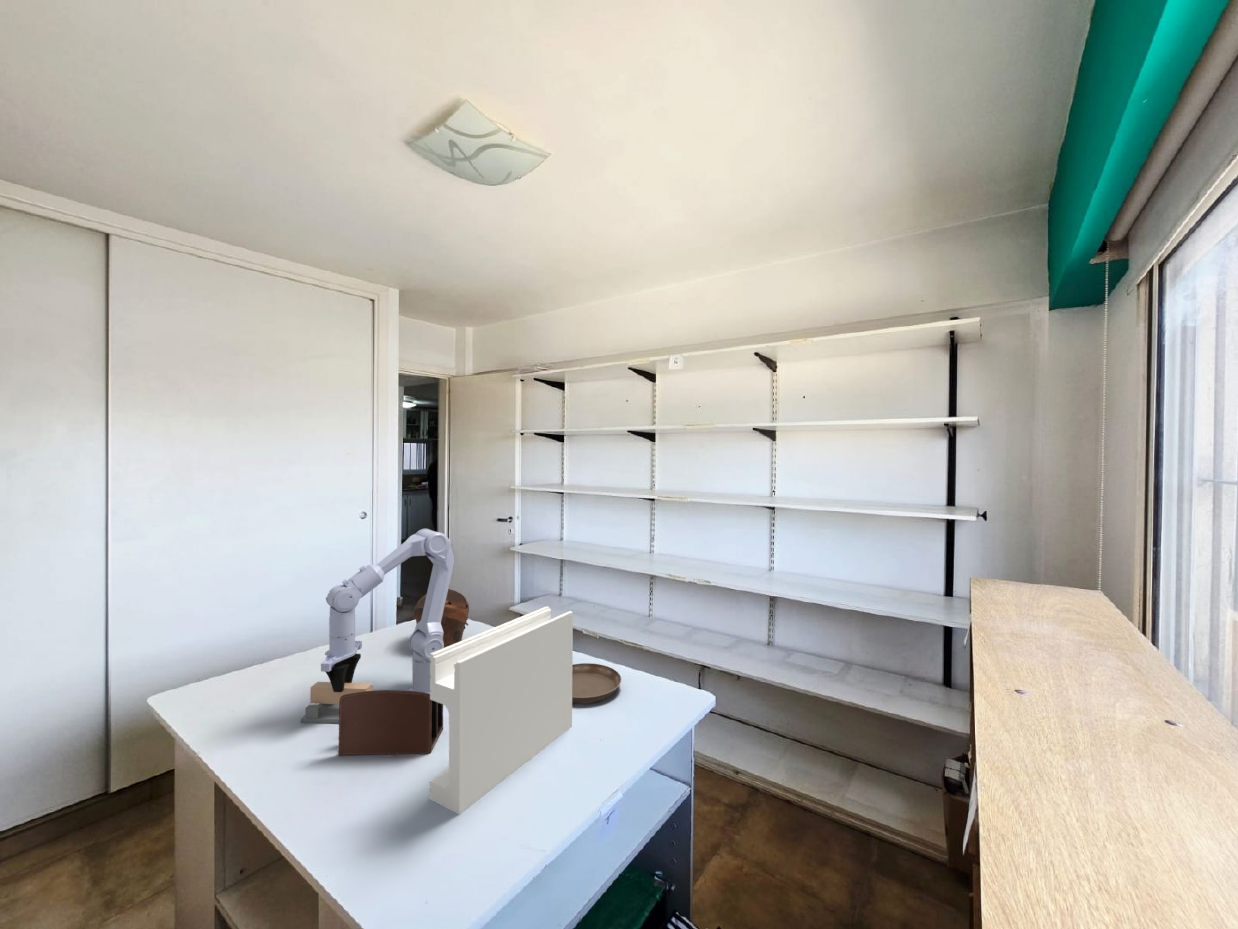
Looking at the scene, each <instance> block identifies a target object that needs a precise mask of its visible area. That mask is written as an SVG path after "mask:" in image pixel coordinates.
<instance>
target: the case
mask: <svg viewBox="0 0 1238 929" xmlns="http://www.w3.org/2000/svg"><path fill="white" fill-rule="evenodd" d="M426 596H427V593H425V594H424V595H423V596H422V597H421V598H420V599H419V600H418V601H417V603H416V604H415V606H414V607H413V611H412V615H411V616H412V619H413V620H415V621H416V622H415V623H416V624H417V623H418V622H420V620H421V618H422V613H423V609H424V604H425V600H426ZM469 613H470V606H469V603H468V601H467V599H466V597H465V596H464V595H463V594H462V593H461V592H458V591H456V590H454V589H451V588H450V589H449V588H448V592H447V597H446V601H445V606H444V610H443V615H442V620H441V626H442V629H443V633H444V634H443V643H444V648H445V647H448V646H450V645H453V644H455V643H458V642H460V641H463V635H464V631H465V630H466V626H468V627H469V624H468V622H467V621H468V620H469Z"/></svg>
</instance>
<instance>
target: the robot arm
mask: <svg viewBox="0 0 1238 929" xmlns="http://www.w3.org/2000/svg"><path fill="white" fill-rule="evenodd" d="M451 545H452V541H451V540H450V538H448V536H447V535H446V534H444V533H442V532H439V531H434V530H432V529H430V528H422V529H420V530H418V531H417V532H416V533H414V534H412V535H410V536H409V537H408V538H407V539H406V540H405V541H404V542H403V543H402V544H400V545H399V546H398V547H397V548H395V549H394V550H393V551H391V552H390V553H389V554H388V555H386V556H385V557H384V558H383V559H382V560H380V561H379V562H378V563H377V564H367V565H366V566H364V565H362V566H361V567H359V569H358V570H359V571H358V572H357V573H355V574H353V576H351V577H349V578H348V579H344V580H343V581H342V583H341V584H338V585H335V586H333V587H332V588H331V589H330V590H329V592H328V593H327V596H326V597H325V600H326V603H327V605H329V617H328V618H329V619H328V620H329V621H328V626H329V628H328V629H329V630H328V631H329V632H328V634H329V635H328V636H329V641H328V643H329V644H328V645H329V647H328V648H329V649H328V650H327V651H325V653H324V655H325V656H326V657H325V659H324V660H323V662H321V663H320V672H324V673H325V674H326V675H327V677H328V679H329V682H331V685H332V688H333V691H334V692H342V691H343V689H344V684H345V683H353V679H354V675H355V670H356V668H357V666H358V663H359V661H360V660H361V657H362V654H361V653H357V652H358V650H362V647H363V641H362V640H356V607H357V606H358V605H359V602H360V599H362V598H363V597H364V596H366V595H368V593H370V592H372V591H373V590H374V589H376V588H377V587H378V586H379V585H381V584H382V583H383V582H384V579H385V575H387V574H388V573H389V572H391V570H394V569H396V567H398V566H399V565H401V564H402V563H404V562H406V561H407V560H408V559H410V558H411V557H422V556H423V557H424V556H426V557H427V558H428V559H429V560H430V561H431V563H432V569H431V572H430V573H431V574H430V578H429V583H428V587H427V592H426V594H427V596H426V600H425V604H424V609H423V613H422V618H421V620H420V622H418V623H416V624H415V628H414V630H413V632H412V634H411V635H410V636H409V641H408V645H409V648H410V649H411V650H412V651H413V653H412V655H411V656H412V661H411V662H412V667H411V668H412V678H411V679H412V681H411V682H412V686H411V687H410V688H409V689H407V691H417V692H425V693H428V694H430V693H431V691H430V678H431V676H430V663H431V661H430V654H431V653H433V652H435V651H438V650H440V649H443V648H444V643H443V634H444V633H443V629H442V626H441V620H442V615H443V610H444V606H445V601H446V597H447V592H448V589H449V587H450V582H451V578H452V572H453V568H454V564H455V558H454V557H455V556H454V553H453V550H452V547H451Z"/></svg>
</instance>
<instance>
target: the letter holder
mask: <svg viewBox="0 0 1238 929" xmlns="http://www.w3.org/2000/svg"><path fill="white" fill-rule="evenodd" d="M443 730H444V705H443V704H441V703H438V702H436V701H433V700H430V694H428V693H425V692H417V691H408V690H404V689H402V690H401V689H380V690H379V689H377V690H372V691H365V692H357V693H350V694H346V695H343V696H341V698H340V700H339V723H338V750H337V751H338V752H337V753H338V756H339V757H342V756H343V757H344V756H345V757H346V756H373V755H377V756H378V755H383V756H384V755H386V756H387V755H424V754H425V755H427V754H428V755H429V754H430V755H431V753H432V751H433V750H434V748H435V746H436V743H437V742H438V740H439V738H440V736H441V734H442V733H443Z"/></svg>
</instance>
